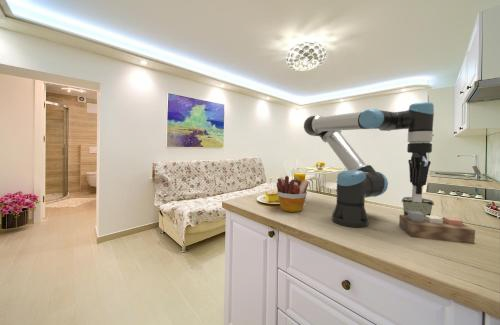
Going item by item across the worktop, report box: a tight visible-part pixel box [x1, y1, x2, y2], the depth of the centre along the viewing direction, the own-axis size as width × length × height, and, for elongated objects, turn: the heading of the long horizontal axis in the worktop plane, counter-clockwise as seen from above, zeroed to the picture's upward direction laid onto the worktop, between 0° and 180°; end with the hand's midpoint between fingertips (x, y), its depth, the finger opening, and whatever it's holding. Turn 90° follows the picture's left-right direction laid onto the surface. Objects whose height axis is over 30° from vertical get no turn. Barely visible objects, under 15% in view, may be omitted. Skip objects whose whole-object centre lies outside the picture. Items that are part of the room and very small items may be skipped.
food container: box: [401, 196, 435, 217], centre depth 101 cm, size 12×6×10 cm, turn 65°
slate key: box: [408, 211, 424, 222], centre depth 84 cm, size 4×4×4 cm
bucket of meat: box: [276, 175, 310, 213], centre depth 115 cm, size 20×16×20 cm
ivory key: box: [425, 215, 443, 224], centre depth 82 cm, size 4×4×4 cm
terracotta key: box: [442, 216, 464, 226], centre depth 80 cm, size 4×4×4 cm
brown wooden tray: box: [398, 214, 476, 244], centre depth 82 cm, size 19×12×5 cm, turn 72°
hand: (416, 201), depth 83 cm, fingers closed
